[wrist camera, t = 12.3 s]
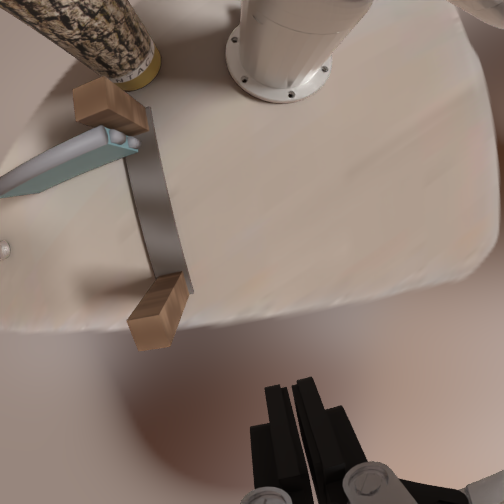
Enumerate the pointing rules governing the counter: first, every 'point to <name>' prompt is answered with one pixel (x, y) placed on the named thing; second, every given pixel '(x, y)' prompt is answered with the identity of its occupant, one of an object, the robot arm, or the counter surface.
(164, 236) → the gate frame
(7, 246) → the lightbulb
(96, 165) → the gate
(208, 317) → the counter surface
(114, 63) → the wooden log
